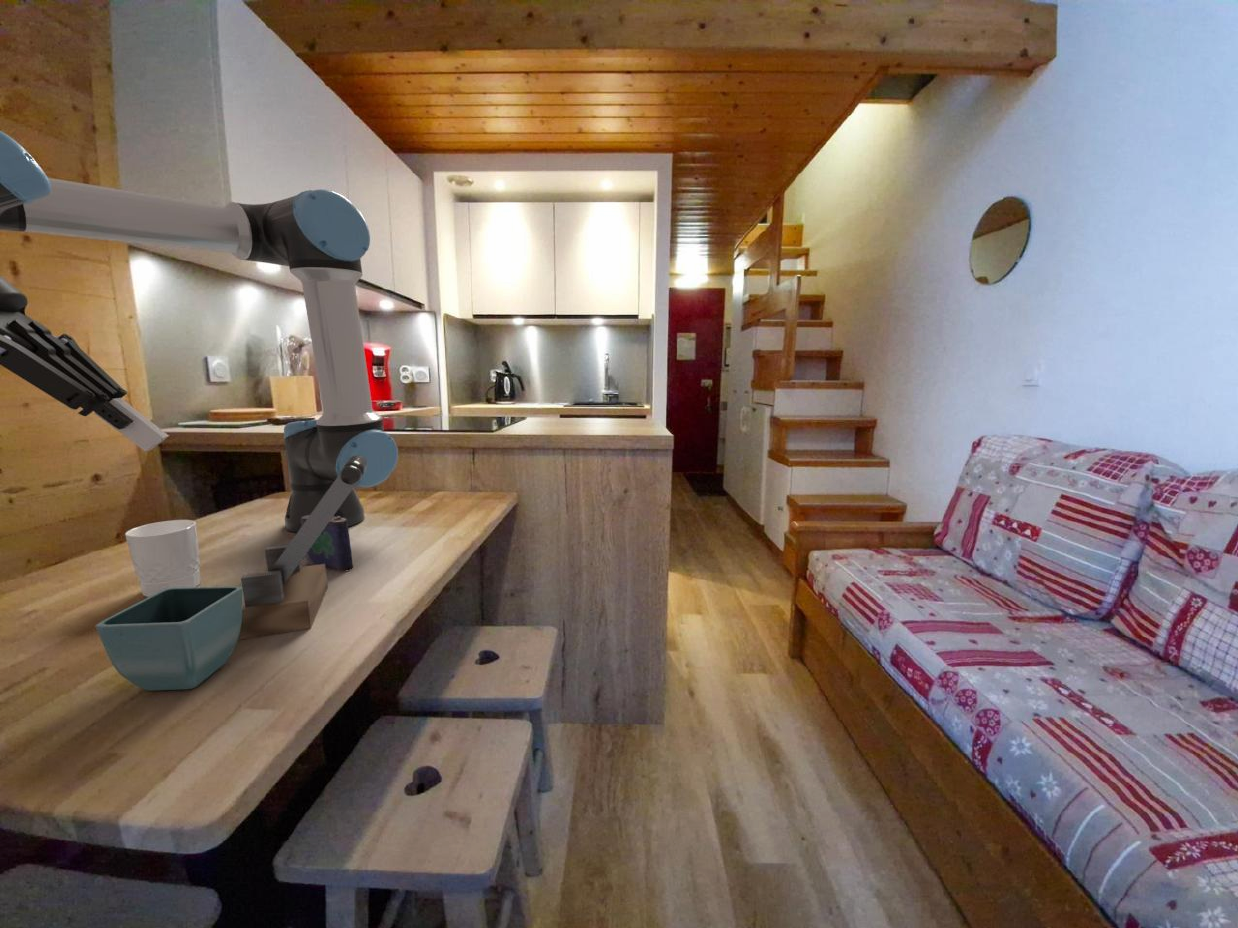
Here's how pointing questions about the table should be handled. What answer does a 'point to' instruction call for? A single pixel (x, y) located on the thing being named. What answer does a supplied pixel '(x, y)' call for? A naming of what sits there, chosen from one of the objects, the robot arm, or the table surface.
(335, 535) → the flask
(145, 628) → the flower pot
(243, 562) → the table surface
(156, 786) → the table surface
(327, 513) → the lever
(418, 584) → the table surface
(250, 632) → the base
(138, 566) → the white cup
